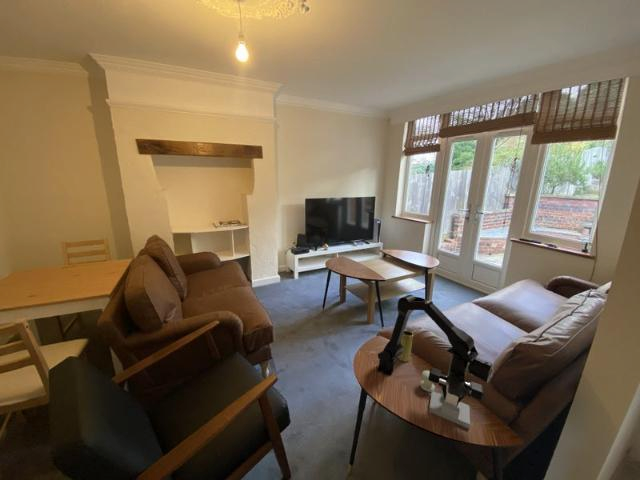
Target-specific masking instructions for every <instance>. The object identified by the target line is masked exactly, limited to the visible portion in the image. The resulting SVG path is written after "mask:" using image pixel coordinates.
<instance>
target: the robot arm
mask: <svg viewBox="0 0 640 480" xmlns="http://www.w3.org/2000/svg"><path fill="white" fill-rule="evenodd" d="M396 309H397V313H398V314H397V317H396V320H395V322H394V323H395V324H394V327H393V329H392V330H393V331H392V334H391V337H390V338H389V339H390V340H389V341H388V342H387V343H386V344H385V346H384V348H383V350H381V351H380V352H379V353H377V359H378V360H379V362H378V366H377V368H376V369H377V371H378V372H381V373H383V374H386V375H388V376H392V373H394V370H395V365H396V361H395V359H396V358H398V356H399V355H401V354H402V353H403V349H404V346H402V345H401V340H402V337H403V334H404V331H405V330H406V327H407V325H408V321H409V317H410V315H412V313H413V312H414V311H422V312H423V311H424V312H425V314H426V315H427V316H428V317H429V318H430V319H431V320H432V321H433V322H434V323H435V324H436V326H438V328H439V329H440V330H441V331H442V332H443V333H444V335H446V338H447V340H448V342H449V344H450V345H451V346H450V347H448V348H447V349H446V352H448V353H449V354H451V359H450V364H449V368H448V373H447V375H444V374H441V371H442V370H441V369H438V368H436V367H433V366H431V367H430V368H429V371H430V372H429V378H428V380H429V381H432V382H433V384H434V383H435V384H438V386H439V387H441V391H442V394H443V395H444V399H445V398H446V390H447V386H448V393H449V394H452V395H455V396H457V397H459V398H458V402H457V404H458V403H459V402H462V400H463V399H464V398H466V397H467V398H471V397H472V398H473V399H475V400H479V401H483V399H484V394H485V393H484V387H483V385H482V384H480V383H477V382H474V381H470V382H467V381H466V376H467V375H466V374H467V370H468V373H469V374H470V375H471V376H474V377H475V378H478V379H479V380H481V381H483V382H485V383H487V384H488V383H489V382H490V380H491V378H492V374H493V371H494V369H493V363H491V362H489V361H486V360H484V359H481V358H479V357H478V356H479V352H478V350H477V348H476V346H475V340H474V338H473V337H472V336H471V335H469V333H467V332H465V331H464V330H463V329H461V328H459V327H457V326H456V325H455V324H454V323H453V322H452V321H451V320H450V319H449V318H448V317H447V316H446V315H445V314H444V313H443V312H442V310H440V309H439V308H438V307H437V306H436V304H434V302H433V300H431V299H428V298H423V297H420V296H414V295H412V294H407V295H405V296H402V297H400V298H398V300H397V307H396ZM447 383H448V384H447Z"/></svg>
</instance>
